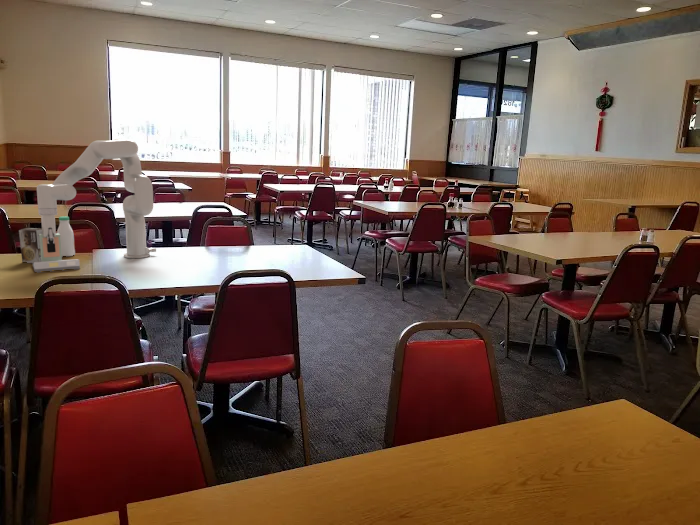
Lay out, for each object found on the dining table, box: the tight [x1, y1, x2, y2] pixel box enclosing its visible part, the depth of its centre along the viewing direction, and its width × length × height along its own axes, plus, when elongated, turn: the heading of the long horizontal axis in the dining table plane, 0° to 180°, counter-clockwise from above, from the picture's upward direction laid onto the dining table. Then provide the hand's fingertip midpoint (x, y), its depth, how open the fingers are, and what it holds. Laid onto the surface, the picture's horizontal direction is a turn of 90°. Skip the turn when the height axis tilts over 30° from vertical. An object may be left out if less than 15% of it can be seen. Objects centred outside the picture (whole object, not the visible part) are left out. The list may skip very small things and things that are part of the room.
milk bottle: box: [56, 215, 76, 257], centre depth 277 cm, size 8×8×20 cm
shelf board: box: [32, 258, 81, 273], centre depth 251 cm, size 18×15×4 cm
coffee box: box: [18, 227, 42, 264], centre depth 261 cm, size 9×6×16 cm
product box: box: [39, 232, 63, 262], centre depth 250 cm, size 5×8×12 cm, turn 123°
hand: (50, 250), depth 250 cm, fingers closed on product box, 5 cm apart
